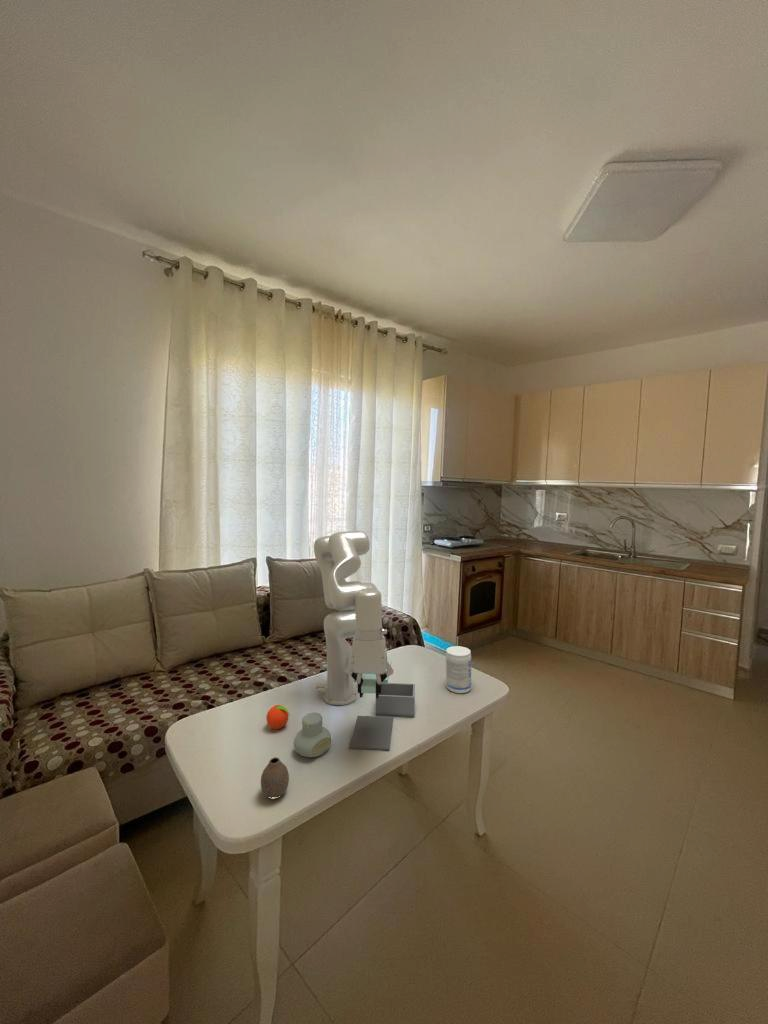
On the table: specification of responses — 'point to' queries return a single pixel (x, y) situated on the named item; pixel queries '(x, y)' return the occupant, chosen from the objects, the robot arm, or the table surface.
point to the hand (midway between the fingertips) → (369, 694)
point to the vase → (274, 778)
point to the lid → (371, 682)
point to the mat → (372, 733)
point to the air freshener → (312, 736)
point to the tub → (396, 700)
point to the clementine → (277, 716)
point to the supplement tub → (458, 669)
